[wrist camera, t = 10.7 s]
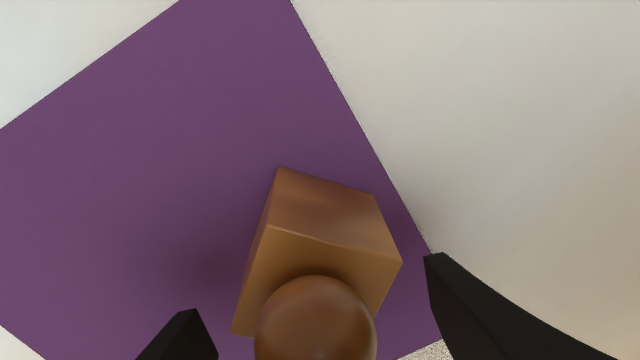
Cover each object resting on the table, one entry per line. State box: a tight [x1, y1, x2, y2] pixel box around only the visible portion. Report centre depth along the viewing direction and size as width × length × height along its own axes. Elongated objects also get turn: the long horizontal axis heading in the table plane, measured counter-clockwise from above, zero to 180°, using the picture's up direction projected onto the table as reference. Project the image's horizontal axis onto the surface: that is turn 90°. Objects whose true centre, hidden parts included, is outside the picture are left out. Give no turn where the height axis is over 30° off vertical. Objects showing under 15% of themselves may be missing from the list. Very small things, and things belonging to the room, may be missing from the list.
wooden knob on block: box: [230, 166, 403, 360], centre depth 12 cm, size 4×4×8 cm
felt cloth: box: [0, 0, 443, 360], centre depth 17 cm, size 20×20×1 cm
